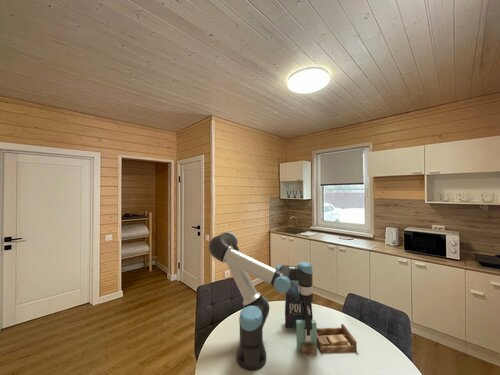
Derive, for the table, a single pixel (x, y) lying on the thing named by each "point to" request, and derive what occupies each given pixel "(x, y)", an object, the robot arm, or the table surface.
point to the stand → (308, 349)
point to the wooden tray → (336, 331)
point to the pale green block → (301, 333)
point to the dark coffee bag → (293, 306)
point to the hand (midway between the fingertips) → (306, 336)
